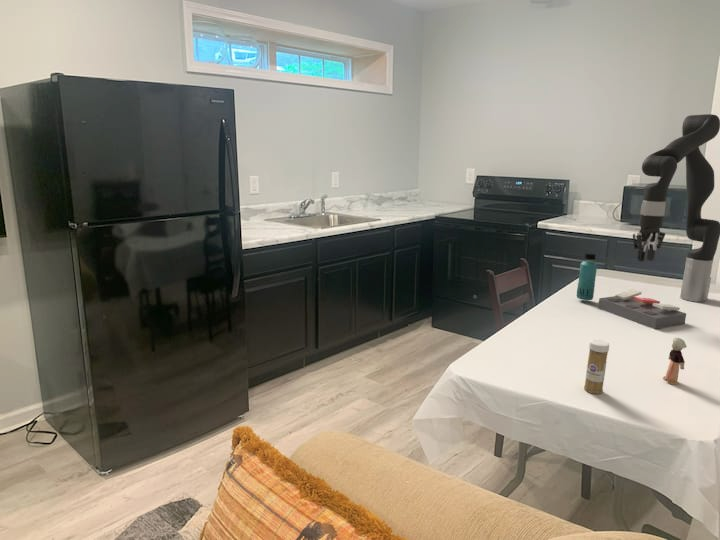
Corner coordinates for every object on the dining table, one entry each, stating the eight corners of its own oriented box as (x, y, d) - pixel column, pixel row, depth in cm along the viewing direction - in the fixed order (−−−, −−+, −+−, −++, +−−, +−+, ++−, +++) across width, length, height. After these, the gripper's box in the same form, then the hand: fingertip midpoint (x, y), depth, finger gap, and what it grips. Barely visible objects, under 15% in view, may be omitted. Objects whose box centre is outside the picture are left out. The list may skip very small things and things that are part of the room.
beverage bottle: (590, 299, 219) (596, 251, 214) (595, 304, 212) (601, 255, 208) (573, 298, 219) (579, 251, 215) (578, 303, 213) (584, 254, 208)
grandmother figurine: (656, 376, 148) (663, 333, 145) (669, 375, 149) (676, 333, 146) (674, 388, 141) (682, 343, 138) (688, 388, 141) (696, 343, 138)
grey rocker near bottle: (632, 293, 210) (632, 288, 209) (641, 295, 206) (641, 291, 206) (615, 299, 207) (615, 294, 206) (624, 302, 203) (624, 297, 203)
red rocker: (649, 302, 203) (650, 298, 203) (658, 305, 199) (660, 301, 199) (632, 301, 199) (634, 296, 199) (642, 304, 196) (643, 299, 195)
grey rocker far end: (668, 309, 196) (669, 304, 195) (678, 312, 192) (679, 307, 192) (651, 307, 192) (653, 302, 192) (661, 310, 188) (663, 305, 188)
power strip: (626, 304, 213) (627, 293, 212) (684, 324, 191) (686, 312, 190) (598, 308, 208) (599, 297, 207) (654, 329, 185) (656, 317, 184)
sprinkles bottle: (582, 391, 139) (588, 343, 135) (585, 385, 142) (591, 337, 139) (601, 396, 136) (608, 346, 133) (604, 389, 140) (610, 341, 137)
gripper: (657, 211, 196) (650, 257, 200) (628, 212, 190) (622, 260, 194) (676, 214, 189) (668, 261, 193) (647, 215, 184) (639, 264, 188)
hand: (645, 260), depth 194 cm, fingers open, 4 cm apart
